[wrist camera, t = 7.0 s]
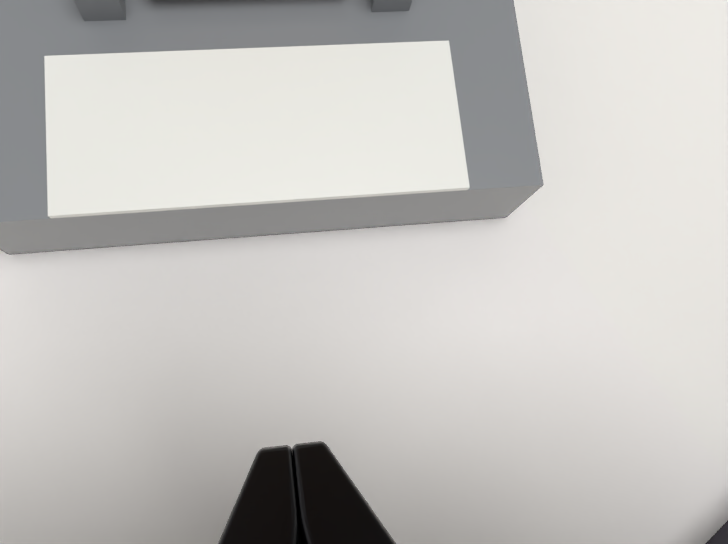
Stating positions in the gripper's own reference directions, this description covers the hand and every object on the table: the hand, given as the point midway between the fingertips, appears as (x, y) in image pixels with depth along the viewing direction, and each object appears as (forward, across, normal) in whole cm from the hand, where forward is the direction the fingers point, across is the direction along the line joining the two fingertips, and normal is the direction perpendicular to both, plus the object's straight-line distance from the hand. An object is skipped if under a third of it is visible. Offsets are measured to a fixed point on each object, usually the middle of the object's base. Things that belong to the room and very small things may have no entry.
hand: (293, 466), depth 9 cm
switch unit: (+15, 0, -2) cm, 15 cm away
